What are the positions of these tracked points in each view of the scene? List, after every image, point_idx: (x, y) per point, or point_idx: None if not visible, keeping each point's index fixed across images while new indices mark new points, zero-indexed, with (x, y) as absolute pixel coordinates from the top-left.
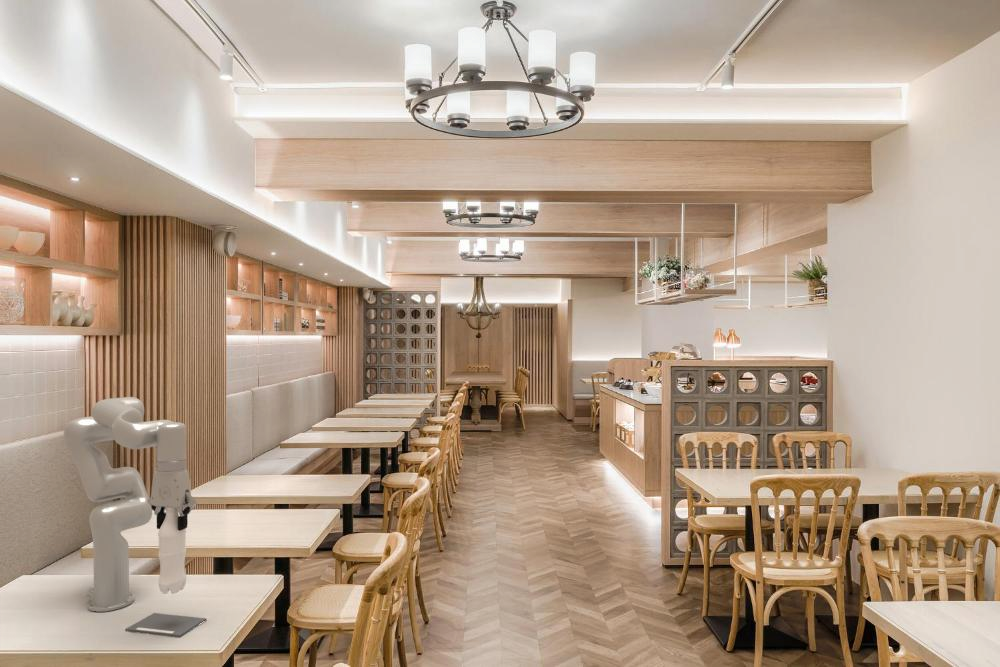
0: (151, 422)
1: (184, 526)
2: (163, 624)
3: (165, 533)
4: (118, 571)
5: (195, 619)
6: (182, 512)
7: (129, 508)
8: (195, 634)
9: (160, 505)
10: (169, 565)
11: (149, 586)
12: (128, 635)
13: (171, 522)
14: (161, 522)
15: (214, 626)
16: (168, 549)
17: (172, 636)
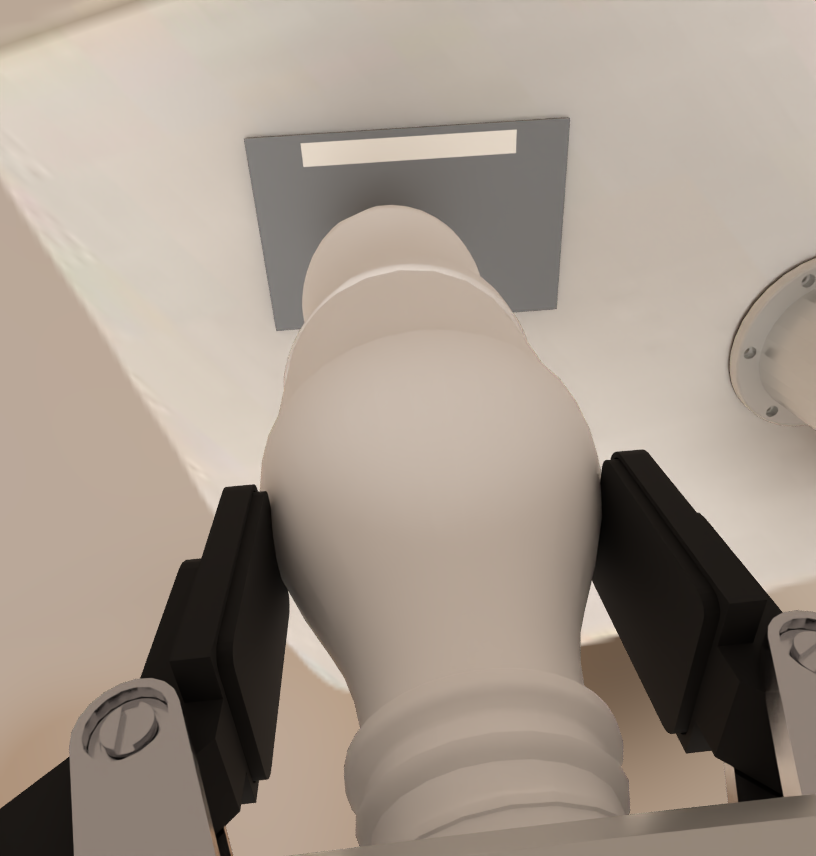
0: None
1: (187, 566)
2: None
3: (394, 365)
4: None
5: None
6: (74, 778)
7: None
8: (202, 190)
9: (761, 846)
10: (358, 271)
11: (755, 510)
12: (516, 79)
13: (368, 540)
14: (630, 548)
15: (190, 289)
16: (350, 300)
17: (290, 135)
